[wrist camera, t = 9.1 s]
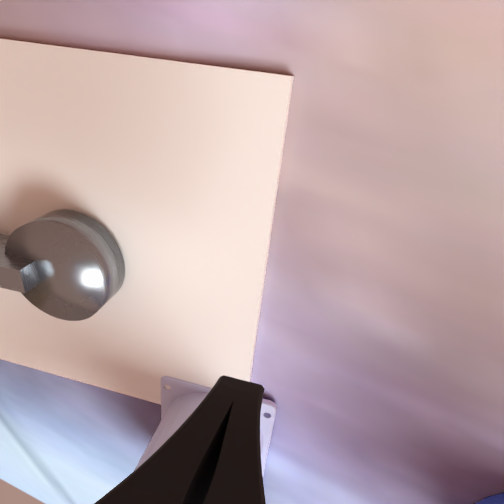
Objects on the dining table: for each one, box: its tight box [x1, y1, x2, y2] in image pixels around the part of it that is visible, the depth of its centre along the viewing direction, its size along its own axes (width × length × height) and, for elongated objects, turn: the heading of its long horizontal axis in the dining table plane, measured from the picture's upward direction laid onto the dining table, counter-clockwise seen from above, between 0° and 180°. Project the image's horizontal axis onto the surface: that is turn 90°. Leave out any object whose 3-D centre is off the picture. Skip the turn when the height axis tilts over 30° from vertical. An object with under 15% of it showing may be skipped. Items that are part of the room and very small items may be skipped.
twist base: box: [0, 38, 294, 405], centre depth 23 cm, size 22×22×1 cm
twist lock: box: [0, 209, 125, 321], centre depth 21 cm, size 13×6×3 cm, turn 85°
